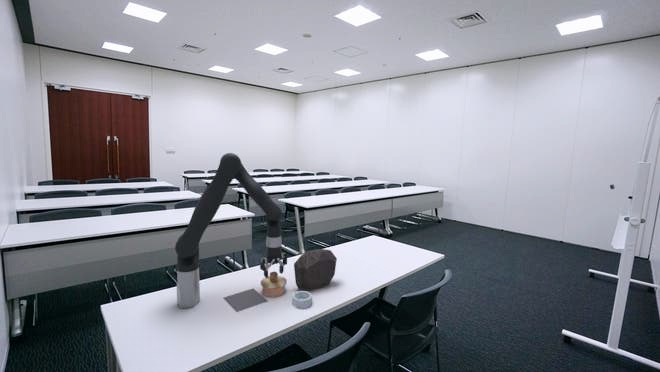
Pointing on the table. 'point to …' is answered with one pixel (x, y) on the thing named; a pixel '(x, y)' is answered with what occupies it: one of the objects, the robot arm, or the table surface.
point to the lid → (273, 281)
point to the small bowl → (302, 299)
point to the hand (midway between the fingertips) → (273, 275)
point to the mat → (245, 300)
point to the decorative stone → (315, 269)
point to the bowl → (273, 291)
